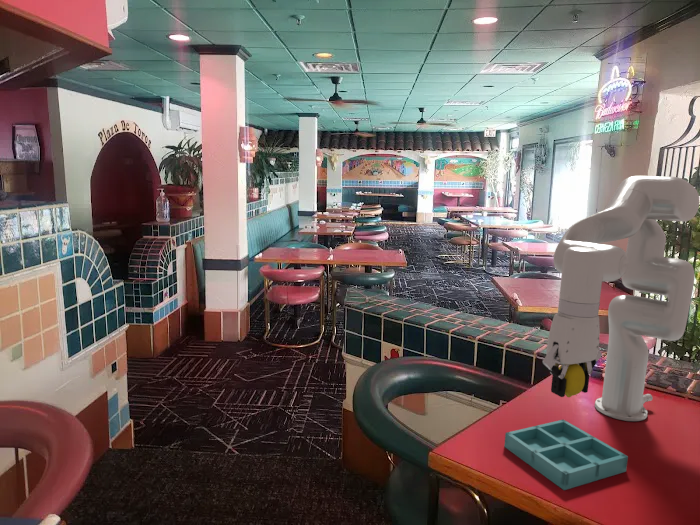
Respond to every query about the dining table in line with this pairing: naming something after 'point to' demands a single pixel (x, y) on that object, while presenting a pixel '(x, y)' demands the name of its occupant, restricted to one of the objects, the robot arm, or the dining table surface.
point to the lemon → (574, 379)
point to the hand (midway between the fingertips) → (569, 391)
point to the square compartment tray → (565, 453)
